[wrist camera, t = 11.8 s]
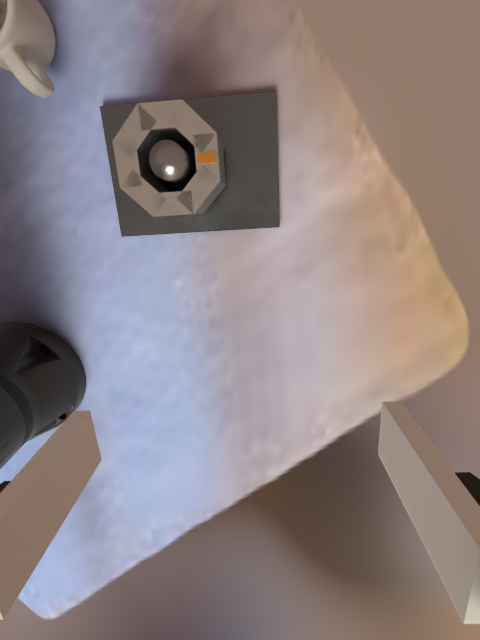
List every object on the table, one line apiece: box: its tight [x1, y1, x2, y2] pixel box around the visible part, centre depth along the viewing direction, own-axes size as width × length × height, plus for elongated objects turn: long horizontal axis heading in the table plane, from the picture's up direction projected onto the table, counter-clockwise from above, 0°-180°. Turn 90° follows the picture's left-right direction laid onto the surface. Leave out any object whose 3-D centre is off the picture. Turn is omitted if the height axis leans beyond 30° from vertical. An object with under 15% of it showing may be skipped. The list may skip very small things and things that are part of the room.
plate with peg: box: [100, 91, 279, 236], centre depth 32 cm, size 18×13×8 cm
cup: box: [0, 0, 56, 98], centre depth 30 cm, size 11×8×8 cm
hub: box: [112, 99, 226, 217], centre depth 32 cm, size 9×9×6 cm
